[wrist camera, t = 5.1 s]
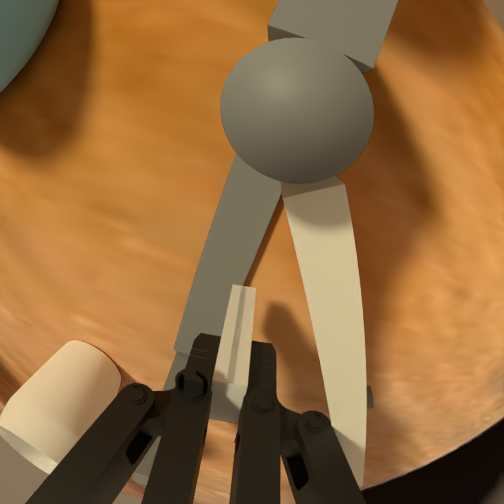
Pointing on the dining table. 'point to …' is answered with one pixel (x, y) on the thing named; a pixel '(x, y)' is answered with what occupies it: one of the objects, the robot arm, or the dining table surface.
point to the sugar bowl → (21, 33)
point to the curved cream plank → (333, 305)
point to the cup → (59, 404)
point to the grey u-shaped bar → (282, 141)
